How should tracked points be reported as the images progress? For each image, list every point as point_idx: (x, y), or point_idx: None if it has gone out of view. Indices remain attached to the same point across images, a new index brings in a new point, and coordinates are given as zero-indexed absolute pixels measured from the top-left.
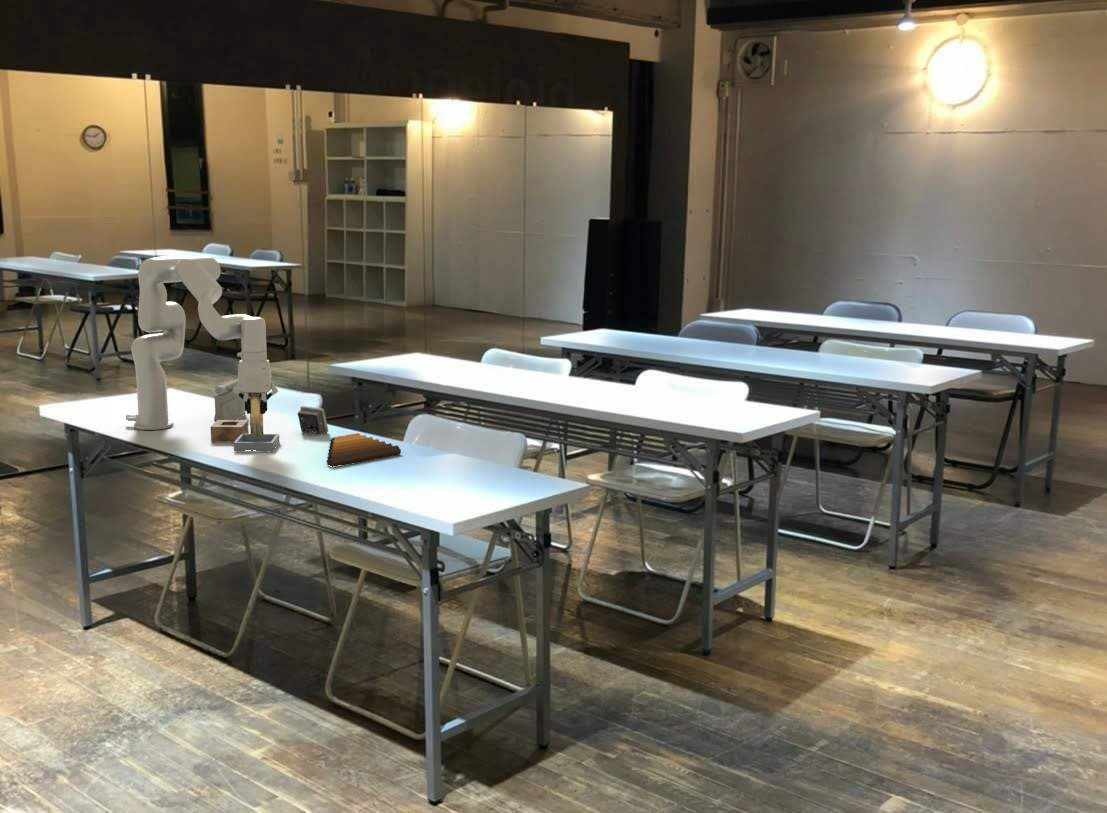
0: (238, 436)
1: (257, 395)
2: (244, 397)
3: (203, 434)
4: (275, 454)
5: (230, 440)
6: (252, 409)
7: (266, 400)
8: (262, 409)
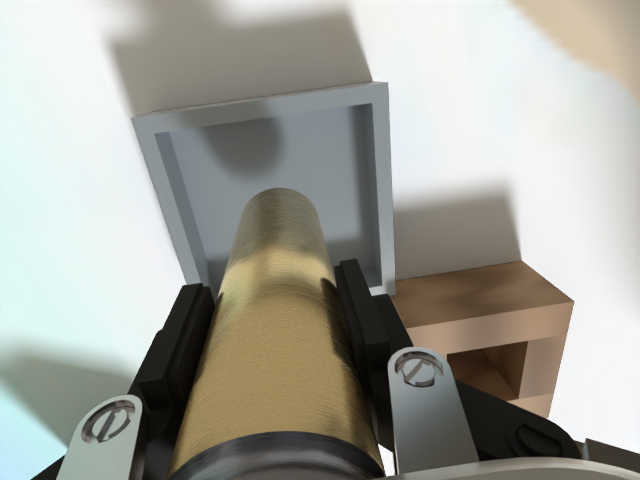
0: (409, 293)
1: (196, 468)
2: (445, 399)
3: (562, 356)
4: (108, 55)
5: (439, 277)
6: (296, 284)
7: (84, 419)
8: (183, 309)
